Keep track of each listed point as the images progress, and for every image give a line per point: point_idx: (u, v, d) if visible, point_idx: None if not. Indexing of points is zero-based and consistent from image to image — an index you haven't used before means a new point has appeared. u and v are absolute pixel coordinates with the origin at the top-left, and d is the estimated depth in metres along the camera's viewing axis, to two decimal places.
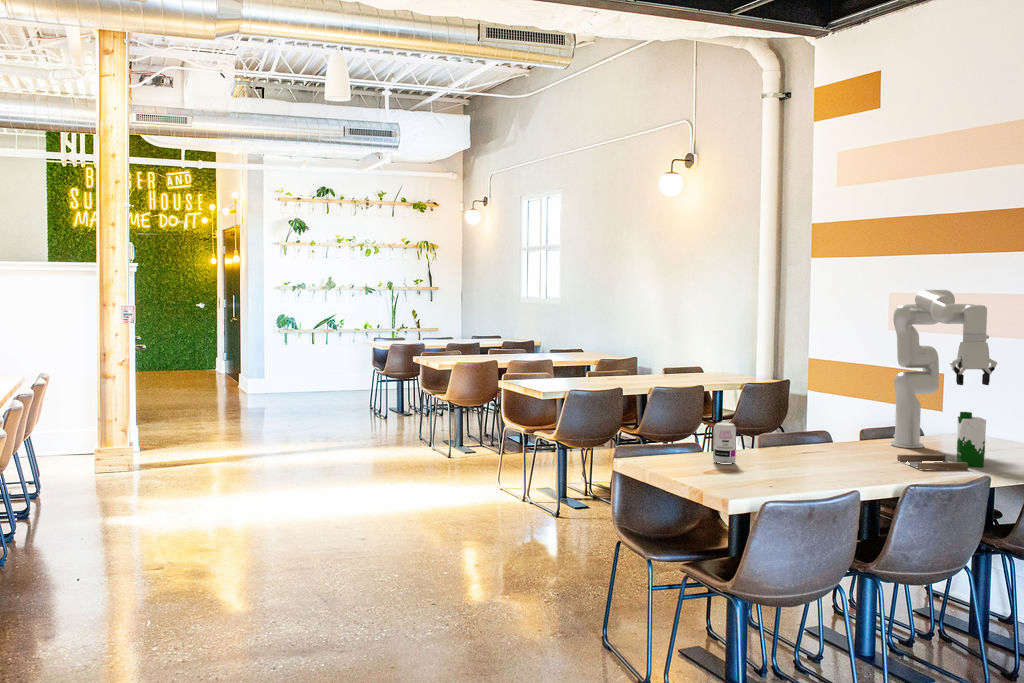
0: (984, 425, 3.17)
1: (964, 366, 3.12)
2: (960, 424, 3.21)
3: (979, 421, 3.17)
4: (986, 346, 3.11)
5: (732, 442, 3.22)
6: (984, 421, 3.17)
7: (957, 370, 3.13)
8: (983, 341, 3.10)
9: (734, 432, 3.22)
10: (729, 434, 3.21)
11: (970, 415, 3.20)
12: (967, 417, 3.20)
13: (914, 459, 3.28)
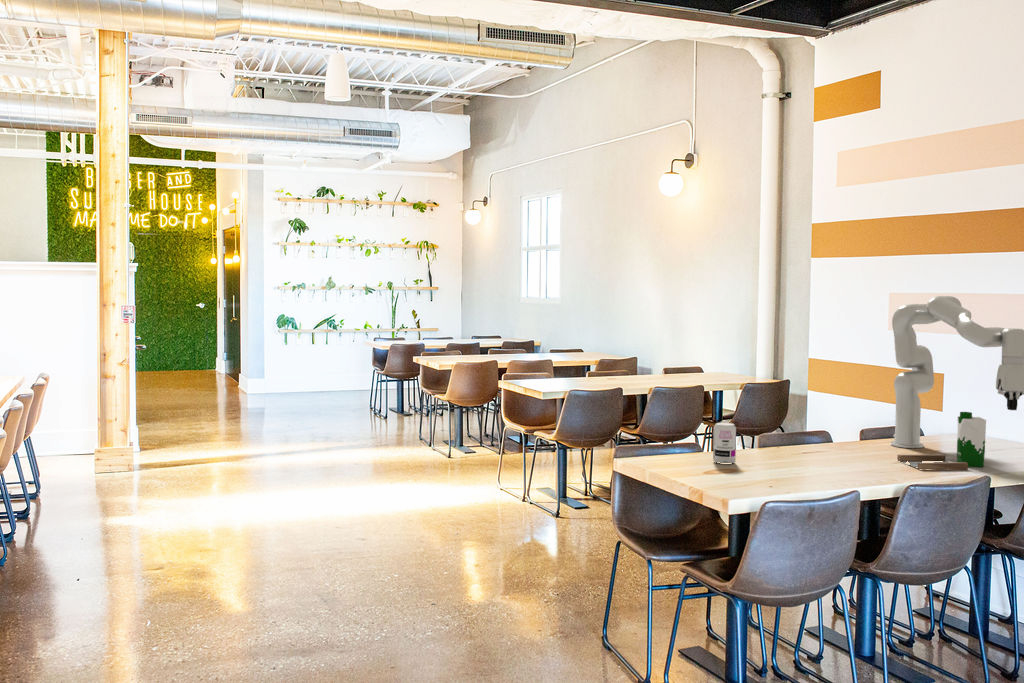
0: (984, 425, 3.17)
1: (1004, 388, 3.19)
2: (960, 424, 3.21)
3: (979, 421, 3.17)
4: None
5: (732, 442, 3.22)
6: (984, 421, 3.17)
7: (1008, 395, 3.20)
8: (1022, 364, 3.17)
9: (734, 432, 3.22)
10: (729, 434, 3.21)
11: (970, 415, 3.20)
12: (967, 417, 3.20)
13: (914, 459, 3.28)
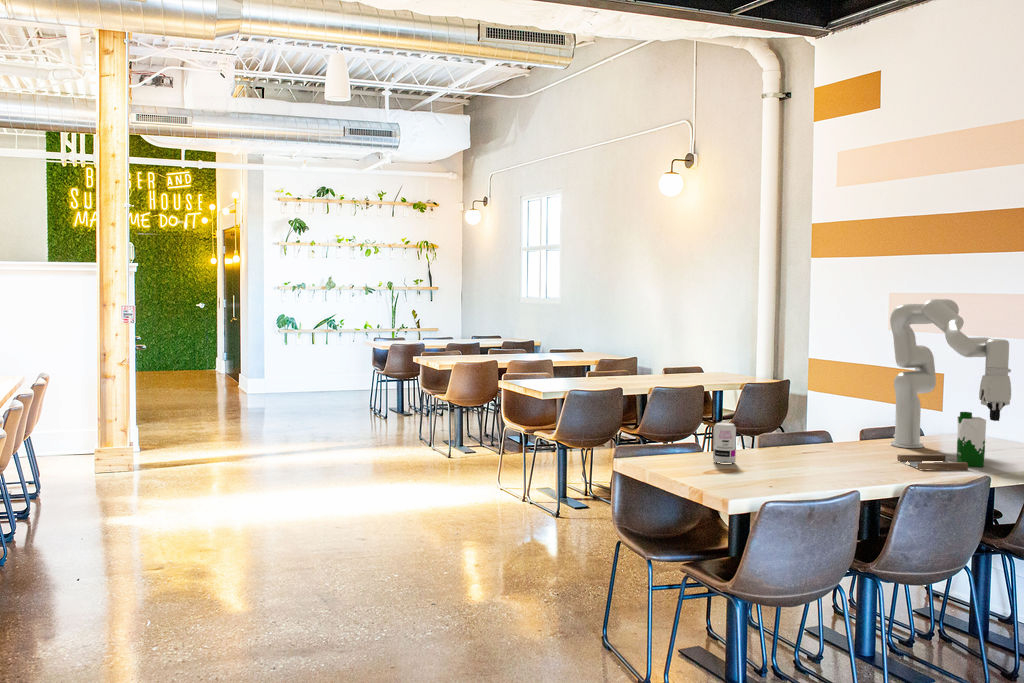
0: (984, 425, 3.17)
1: (987, 399, 3.19)
2: (960, 424, 3.21)
3: (979, 421, 3.17)
4: (1008, 379, 3.19)
5: (732, 442, 3.22)
6: (984, 421, 3.17)
7: (991, 406, 3.20)
8: (1005, 375, 3.17)
9: (734, 432, 3.22)
10: (729, 434, 3.21)
11: (970, 415, 3.20)
12: (967, 417, 3.20)
13: (914, 459, 3.28)
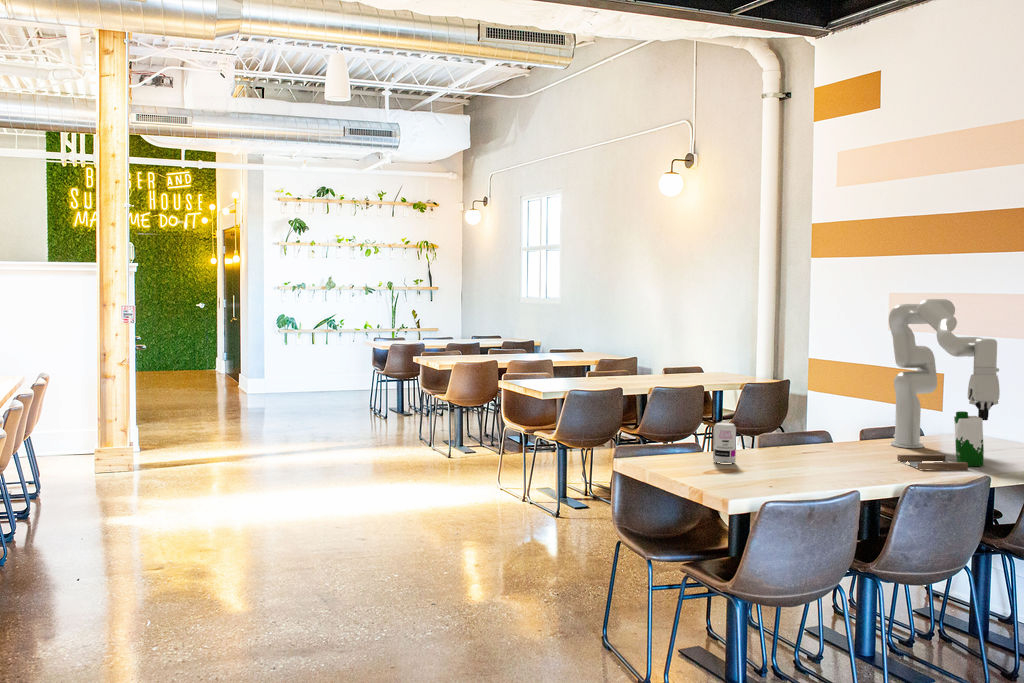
0: (981, 424, 3.18)
1: (975, 398, 3.19)
2: (957, 424, 3.21)
3: (975, 420, 3.17)
4: (996, 379, 3.18)
5: (732, 442, 3.22)
6: (980, 420, 3.17)
7: (979, 405, 3.20)
8: (993, 374, 3.17)
9: (734, 432, 3.22)
10: (729, 434, 3.21)
11: (966, 415, 3.20)
12: (963, 417, 3.20)
13: (914, 459, 3.28)
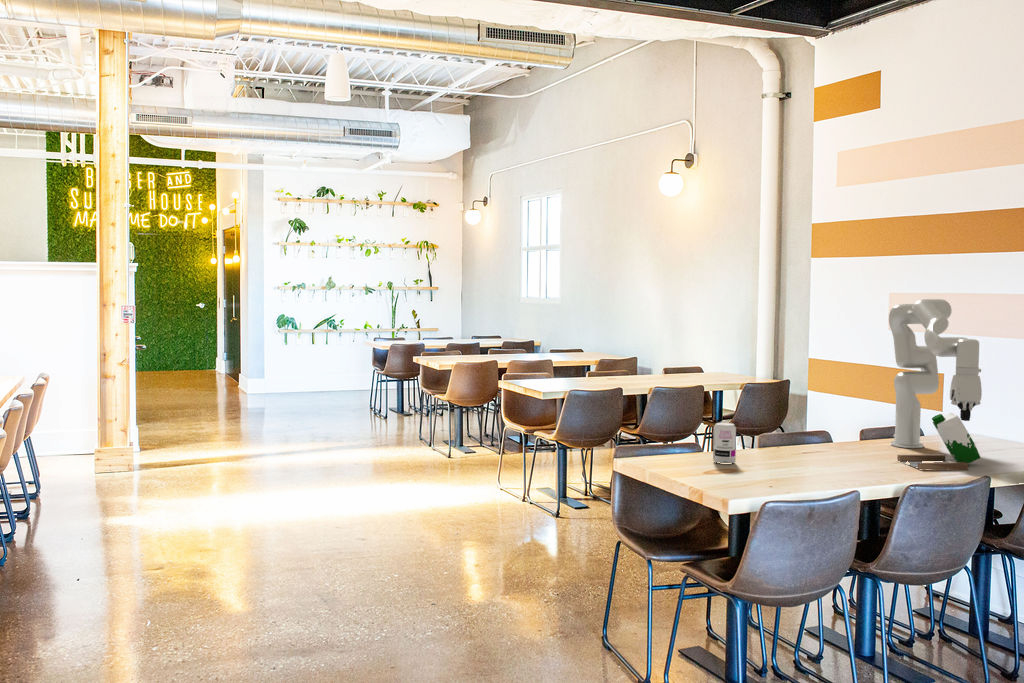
0: (959, 421, 3.19)
1: (957, 399, 3.18)
2: (938, 429, 3.23)
3: (952, 419, 3.19)
4: (978, 379, 3.18)
5: (732, 442, 3.22)
6: (956, 417, 3.19)
7: (961, 406, 3.20)
8: (975, 375, 3.17)
9: (734, 432, 3.22)
10: (729, 434, 3.21)
11: (942, 417, 3.22)
12: (940, 421, 3.22)
13: (914, 459, 3.28)
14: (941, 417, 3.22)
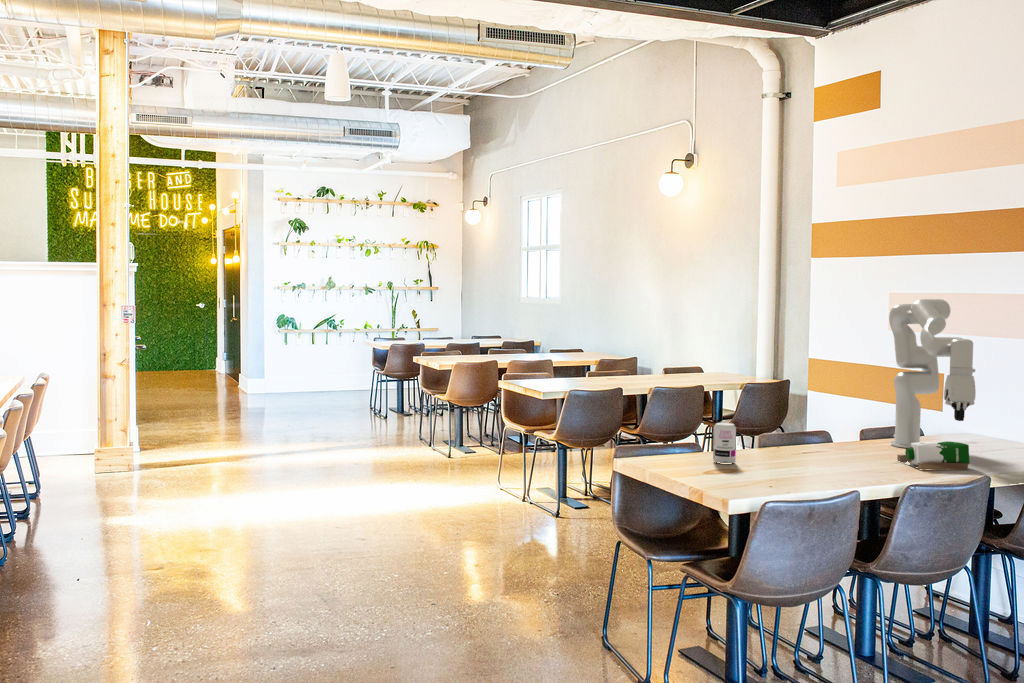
0: None
1: (951, 399, 3.18)
2: None
3: None
4: (972, 379, 3.18)
5: (732, 442, 3.22)
6: None
7: (955, 406, 3.20)
8: (969, 375, 3.16)
9: (734, 432, 3.22)
10: (729, 434, 3.21)
11: (910, 458, 3.21)
12: (911, 459, 3.22)
13: None
14: (909, 458, 3.21)
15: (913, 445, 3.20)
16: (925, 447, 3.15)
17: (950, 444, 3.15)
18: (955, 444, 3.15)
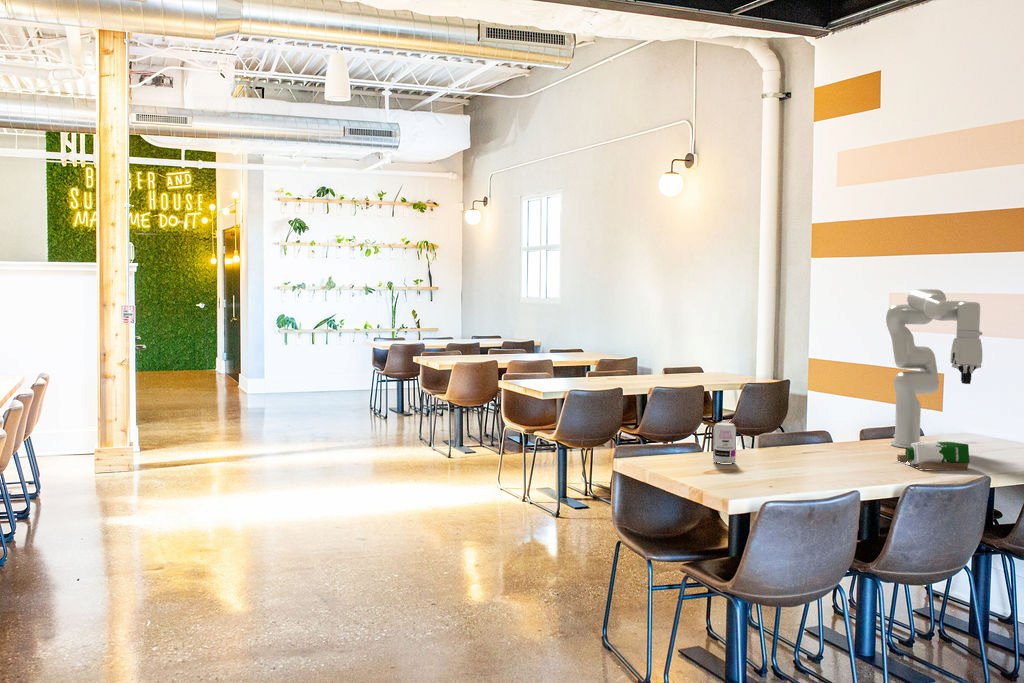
0: None
1: (957, 362, 3.18)
2: None
3: None
4: (979, 342, 3.18)
5: (732, 442, 3.22)
6: None
7: (962, 369, 3.19)
8: (976, 337, 3.16)
9: (734, 432, 3.22)
10: (729, 434, 3.21)
11: (910, 458, 3.21)
12: (911, 459, 3.22)
13: None
14: (909, 458, 3.21)
15: (913, 444, 3.21)
16: (924, 445, 3.16)
17: (950, 443, 3.16)
18: (955, 444, 3.15)
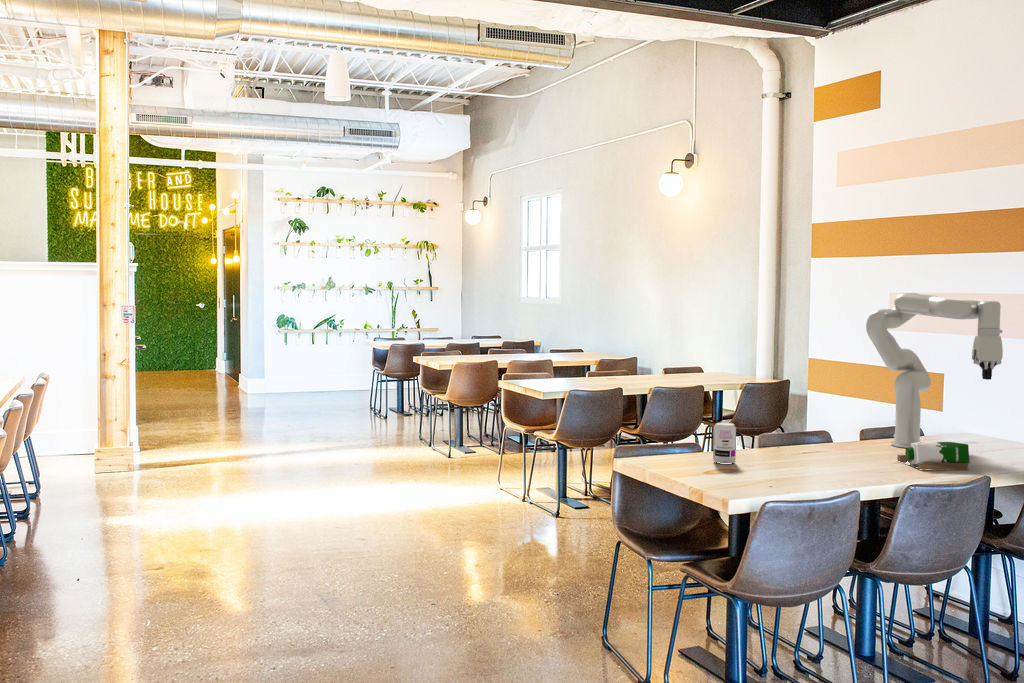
0: None
1: (979, 358, 3.32)
2: None
3: None
4: (999, 340, 3.32)
5: (732, 442, 3.22)
6: None
7: (983, 365, 3.34)
8: (997, 335, 3.31)
9: (734, 432, 3.22)
10: (729, 434, 3.21)
11: (910, 458, 3.21)
12: (911, 459, 3.22)
13: None
14: (909, 458, 3.21)
15: (913, 444, 3.21)
16: (924, 445, 3.16)
17: (950, 443, 3.16)
18: (955, 444, 3.15)
